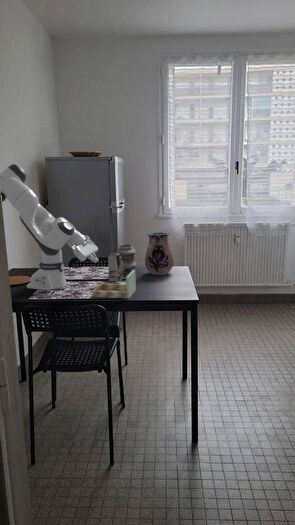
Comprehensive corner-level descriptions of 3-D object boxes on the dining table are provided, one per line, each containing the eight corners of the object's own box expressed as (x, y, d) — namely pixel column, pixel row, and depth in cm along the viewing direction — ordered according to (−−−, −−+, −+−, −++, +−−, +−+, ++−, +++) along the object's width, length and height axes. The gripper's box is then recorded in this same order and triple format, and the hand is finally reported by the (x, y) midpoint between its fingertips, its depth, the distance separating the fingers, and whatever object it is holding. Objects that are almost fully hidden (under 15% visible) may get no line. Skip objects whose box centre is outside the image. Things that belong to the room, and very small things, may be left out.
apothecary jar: (115, 275, 250) (113, 246, 246) (121, 270, 262) (120, 243, 257) (133, 276, 247) (132, 247, 243) (139, 271, 258) (138, 243, 254)
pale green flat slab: (127, 299, 204) (126, 277, 201) (133, 290, 217) (133, 269, 214) (129, 299, 204) (128, 277, 201) (136, 290, 217) (135, 270, 214)
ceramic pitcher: (145, 277, 243) (144, 236, 237) (145, 269, 263) (144, 231, 257) (174, 277, 242) (173, 236, 237) (172, 268, 263) (172, 230, 257)
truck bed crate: (92, 298, 208) (92, 291, 207) (101, 290, 221) (100, 283, 220) (126, 299, 204) (125, 292, 203) (133, 291, 217) (132, 284, 216)
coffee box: (119, 283, 234) (118, 255, 230) (109, 282, 235) (107, 255, 231) (123, 278, 242) (122, 252, 239) (113, 278, 244) (112, 252, 240)
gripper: (74, 242, 199) (94, 262, 199) (88, 235, 218) (107, 253, 219) (66, 251, 201) (86, 270, 201) (81, 243, 220) (99, 261, 221)
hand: (97, 261), depth 210 cm, fingers closed
